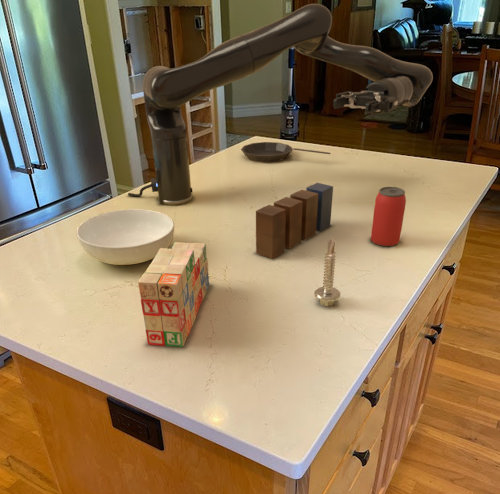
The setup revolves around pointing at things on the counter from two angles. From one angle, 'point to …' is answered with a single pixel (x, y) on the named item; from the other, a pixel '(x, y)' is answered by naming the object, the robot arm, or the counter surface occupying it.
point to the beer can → (388, 216)
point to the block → (323, 204)
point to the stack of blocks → (173, 292)
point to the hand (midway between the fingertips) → (350, 106)
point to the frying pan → (270, 151)
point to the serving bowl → (126, 235)
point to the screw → (328, 279)
